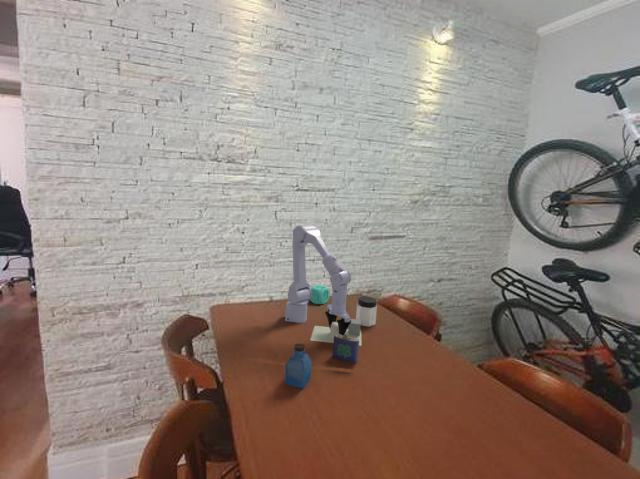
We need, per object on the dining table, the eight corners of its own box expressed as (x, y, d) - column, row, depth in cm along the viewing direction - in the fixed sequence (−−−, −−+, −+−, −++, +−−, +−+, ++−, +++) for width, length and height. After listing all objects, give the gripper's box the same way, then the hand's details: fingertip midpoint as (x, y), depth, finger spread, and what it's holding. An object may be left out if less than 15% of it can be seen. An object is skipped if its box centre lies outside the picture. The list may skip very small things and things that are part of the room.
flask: (358, 362, 117) (360, 334, 115) (355, 366, 114) (358, 337, 113) (333, 356, 120) (335, 328, 119) (330, 360, 118) (332, 331, 116)
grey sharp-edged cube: (348, 334, 136) (349, 323, 136) (348, 329, 141) (349, 318, 140) (359, 335, 136) (360, 324, 135) (359, 330, 140) (360, 319, 140)
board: (309, 342, 130) (310, 333, 129) (314, 327, 143) (315, 319, 143) (361, 348, 128) (362, 338, 127) (361, 332, 141) (361, 323, 141)
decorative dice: (317, 298, 181) (318, 284, 180) (329, 301, 177) (330, 287, 176) (308, 301, 175) (309, 287, 174) (320, 305, 170) (321, 290, 169)
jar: (366, 330, 144) (368, 303, 142) (352, 324, 150) (354, 298, 148) (378, 325, 150) (380, 299, 148) (364, 319, 156) (366, 294, 154)
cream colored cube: (329, 337, 132) (330, 326, 132) (331, 333, 137) (332, 321, 136) (341, 339, 132) (342, 327, 131) (342, 334, 136) (343, 323, 135)
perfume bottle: (310, 378, 106) (312, 343, 104) (303, 389, 100) (305, 352, 98) (292, 373, 108) (294, 339, 106) (284, 384, 102) (286, 347, 100)
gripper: (321, 295, 136) (319, 326, 138) (340, 307, 124) (337, 341, 126) (336, 293, 140) (334, 324, 142) (355, 305, 127) (353, 338, 129)
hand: (336, 332), depth 134 cm, fingers open, 7 cm apart
